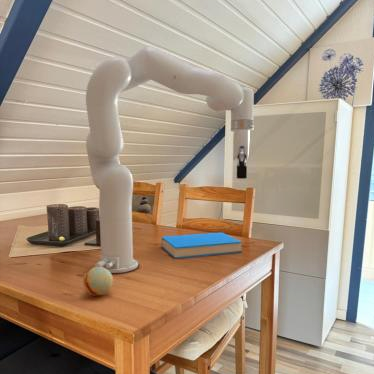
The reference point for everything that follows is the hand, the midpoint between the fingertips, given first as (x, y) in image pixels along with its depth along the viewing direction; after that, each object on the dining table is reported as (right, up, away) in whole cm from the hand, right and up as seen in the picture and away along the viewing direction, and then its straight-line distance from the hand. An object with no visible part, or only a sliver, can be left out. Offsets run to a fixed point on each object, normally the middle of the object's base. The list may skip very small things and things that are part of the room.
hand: (241, 177), depth 121 cm
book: (-14, -26, +7) cm, 30 cm away
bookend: (-52, -23, +18) cm, 60 cm away
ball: (-41, -33, -35) cm, 63 cm away
